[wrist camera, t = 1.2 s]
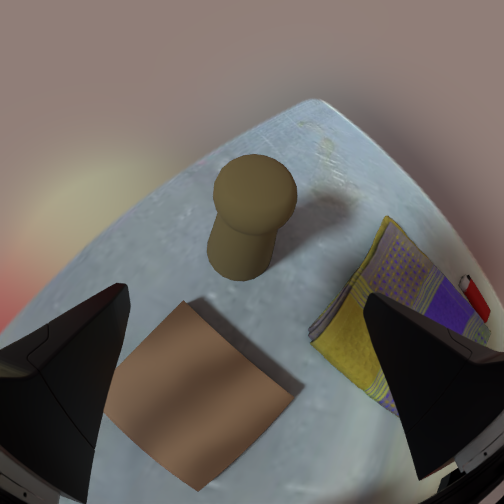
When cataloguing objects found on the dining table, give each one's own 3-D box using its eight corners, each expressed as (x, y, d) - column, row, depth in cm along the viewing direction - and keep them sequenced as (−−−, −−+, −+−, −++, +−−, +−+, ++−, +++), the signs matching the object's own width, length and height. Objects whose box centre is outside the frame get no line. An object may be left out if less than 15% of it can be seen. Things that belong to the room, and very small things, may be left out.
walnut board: (289, 395, 21) (294, 397, 20) (198, 484, 17) (198, 491, 15) (185, 303, 23) (183, 300, 21) (95, 394, 18) (89, 396, 17)
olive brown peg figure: (228, 209, 27) (240, 127, 16) (282, 239, 26) (324, 169, 16) (194, 259, 24) (184, 190, 14) (253, 293, 24) (285, 245, 14)
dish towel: (430, 449, 20) (445, 453, 17) (292, 332, 24) (302, 329, 21) (483, 337, 26) (497, 334, 24) (380, 217, 30) (393, 206, 27)
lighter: (486, 323, 26) (461, 283, 27) (480, 324, 27) (455, 285, 28) (491, 308, 27) (467, 269, 28) (485, 310, 28) (461, 272, 29)
